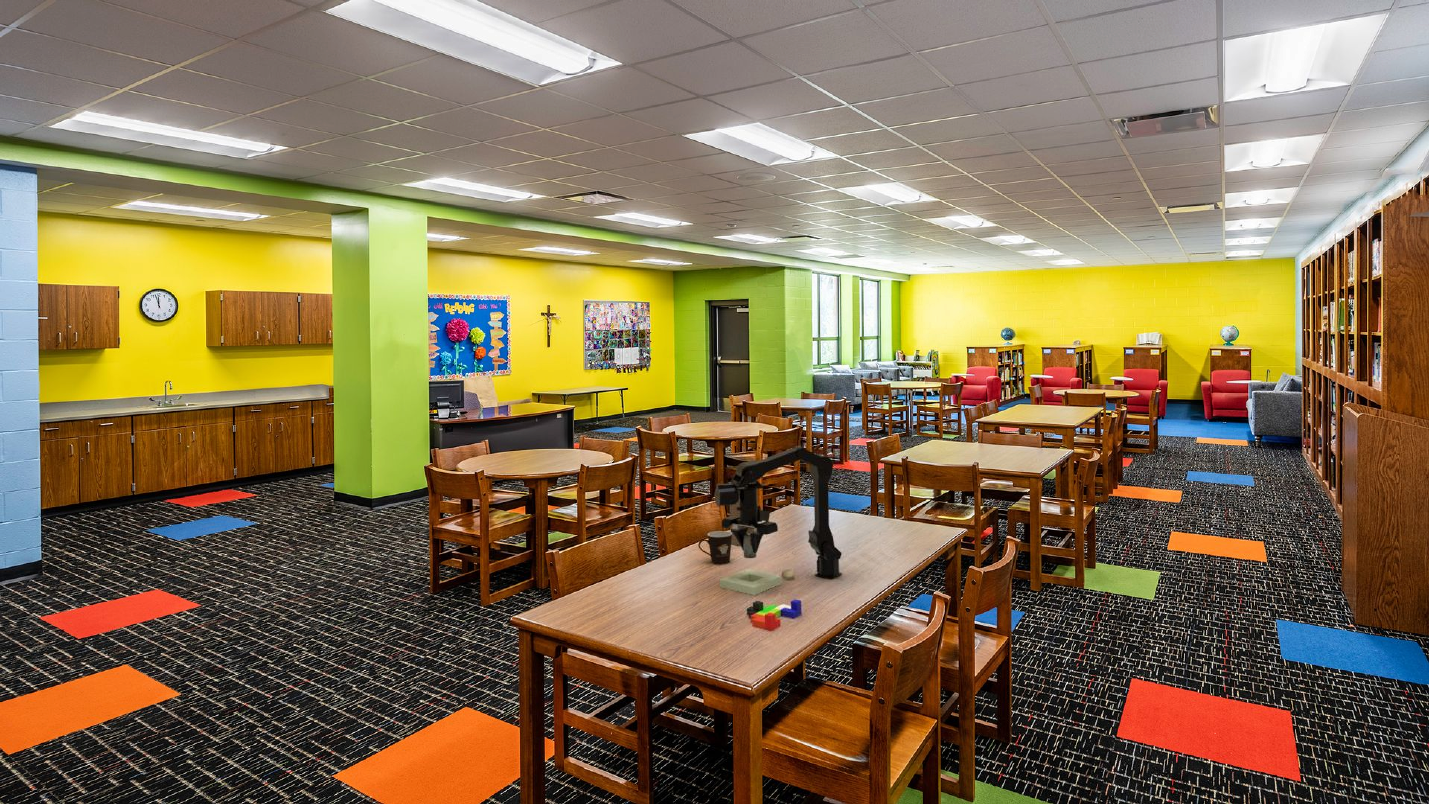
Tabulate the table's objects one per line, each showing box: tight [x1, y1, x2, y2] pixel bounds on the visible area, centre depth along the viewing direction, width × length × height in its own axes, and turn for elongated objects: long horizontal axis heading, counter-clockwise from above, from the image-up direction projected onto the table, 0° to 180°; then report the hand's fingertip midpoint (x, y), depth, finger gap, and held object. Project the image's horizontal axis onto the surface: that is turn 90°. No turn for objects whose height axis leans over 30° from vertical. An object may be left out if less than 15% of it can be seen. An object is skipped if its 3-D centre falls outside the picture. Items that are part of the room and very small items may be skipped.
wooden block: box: [729, 501, 754, 547], centre depth 297 cm, size 4×11×18 cm, turn 51°
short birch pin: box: [781, 568, 795, 581], centre depth 254 cm, size 4×4×2 cm
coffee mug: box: [697, 530, 732, 565], centre depth 275 cm, size 12×9×10 cm
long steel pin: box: [743, 533, 757, 559], centre depth 246 cm, size 4×4×7 cm
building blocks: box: [746, 598, 802, 631], centre depth 218 cm, size 15×13×4 cm
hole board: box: [719, 568, 783, 596], centre depth 247 cm, size 14×14×2 cm
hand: (750, 551), depth 247 cm, fingers closed on long steel pin, 4 cm apart
